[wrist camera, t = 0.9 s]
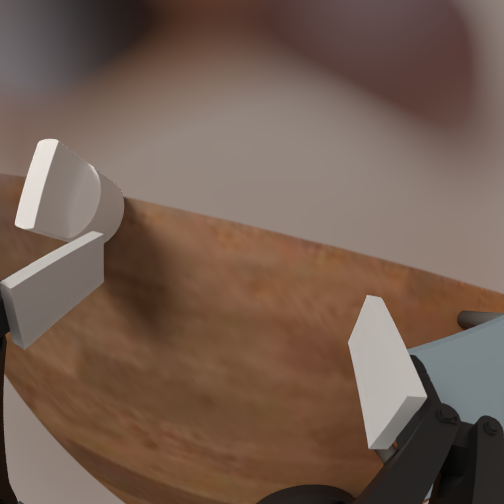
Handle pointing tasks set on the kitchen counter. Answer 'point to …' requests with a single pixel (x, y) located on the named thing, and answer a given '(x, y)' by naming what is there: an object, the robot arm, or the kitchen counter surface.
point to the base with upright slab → (68, 196)
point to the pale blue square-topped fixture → (467, 369)
